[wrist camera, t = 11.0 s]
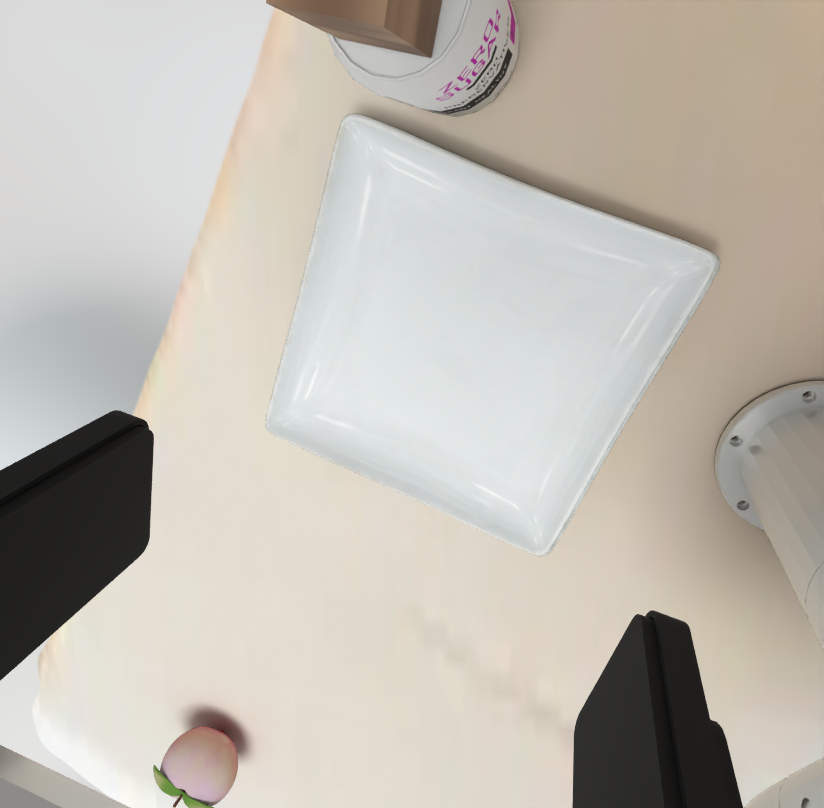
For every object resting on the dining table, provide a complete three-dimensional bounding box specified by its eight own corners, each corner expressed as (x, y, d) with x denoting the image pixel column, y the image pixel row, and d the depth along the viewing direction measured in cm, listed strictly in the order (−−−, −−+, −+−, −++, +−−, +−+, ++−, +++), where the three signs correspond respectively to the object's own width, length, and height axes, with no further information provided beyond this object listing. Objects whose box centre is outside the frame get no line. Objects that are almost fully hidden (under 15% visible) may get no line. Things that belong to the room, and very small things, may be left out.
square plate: (549, 538, 52) (546, 565, 48) (279, 414, 55) (258, 431, 51) (717, 250, 40) (730, 259, 36) (359, 110, 42) (340, 106, 39)
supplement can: (410, -32, 38) (316, -135, 25) (534, -16, 36) (505, -117, 23) (392, 106, 41) (301, 80, 28) (505, 125, 40) (465, 108, 27)
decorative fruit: (259, 725, 73) (214, 804, 64) (250, 763, 76) (206, 842, 68) (194, 694, 74) (140, 767, 65) (187, 732, 78) (136, 806, 69)
